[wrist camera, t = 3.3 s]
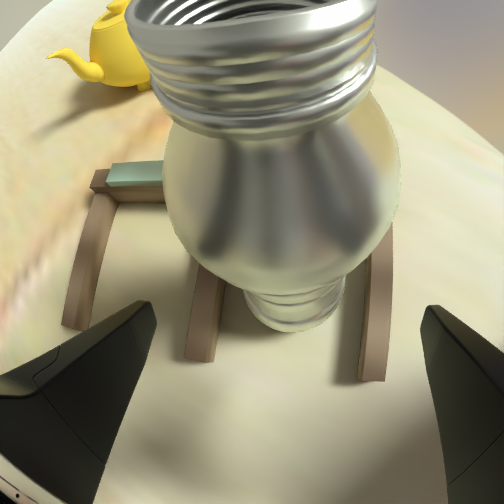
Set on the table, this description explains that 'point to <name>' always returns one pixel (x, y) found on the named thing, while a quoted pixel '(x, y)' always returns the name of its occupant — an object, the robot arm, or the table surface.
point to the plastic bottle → (272, 144)
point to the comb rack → (208, 284)
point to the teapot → (110, 53)
